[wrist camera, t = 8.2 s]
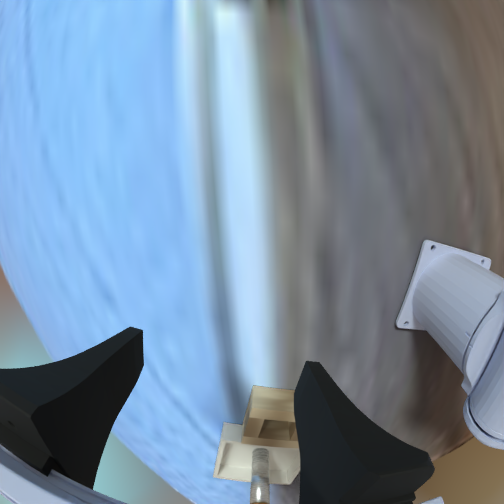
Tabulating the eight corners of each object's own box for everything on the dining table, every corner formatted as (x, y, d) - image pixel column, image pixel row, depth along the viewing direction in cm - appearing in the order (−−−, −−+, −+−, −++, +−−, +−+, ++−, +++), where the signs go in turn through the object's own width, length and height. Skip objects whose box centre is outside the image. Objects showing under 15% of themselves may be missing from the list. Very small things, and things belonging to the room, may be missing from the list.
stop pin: (271, 446, 27) (272, 508, 18) (270, 456, 27) (270, 515, 19) (250, 446, 27) (247, 508, 18) (250, 456, 27) (247, 515, 19)
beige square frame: (314, 392, 24) (318, 413, 22) (297, 427, 26) (299, 448, 23) (253, 385, 24) (251, 407, 21) (242, 422, 26) (241, 443, 23)
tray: (312, 431, 26) (315, 447, 24) (289, 470, 29) (290, 484, 27) (223, 422, 26) (221, 439, 24) (215, 462, 29) (213, 477, 26)
